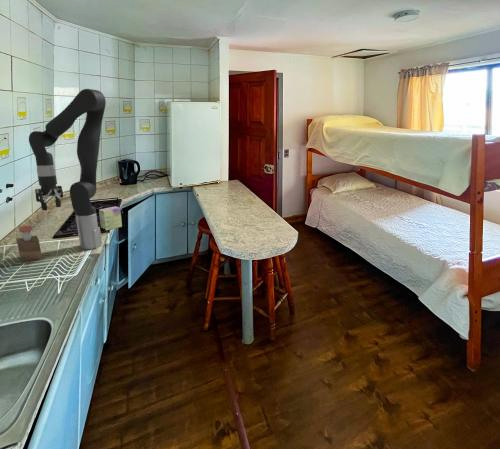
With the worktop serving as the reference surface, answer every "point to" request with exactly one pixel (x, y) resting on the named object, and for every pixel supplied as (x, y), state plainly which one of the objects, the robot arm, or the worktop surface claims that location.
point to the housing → (29, 249)
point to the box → (110, 218)
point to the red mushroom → (26, 232)
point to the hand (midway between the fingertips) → (52, 208)
